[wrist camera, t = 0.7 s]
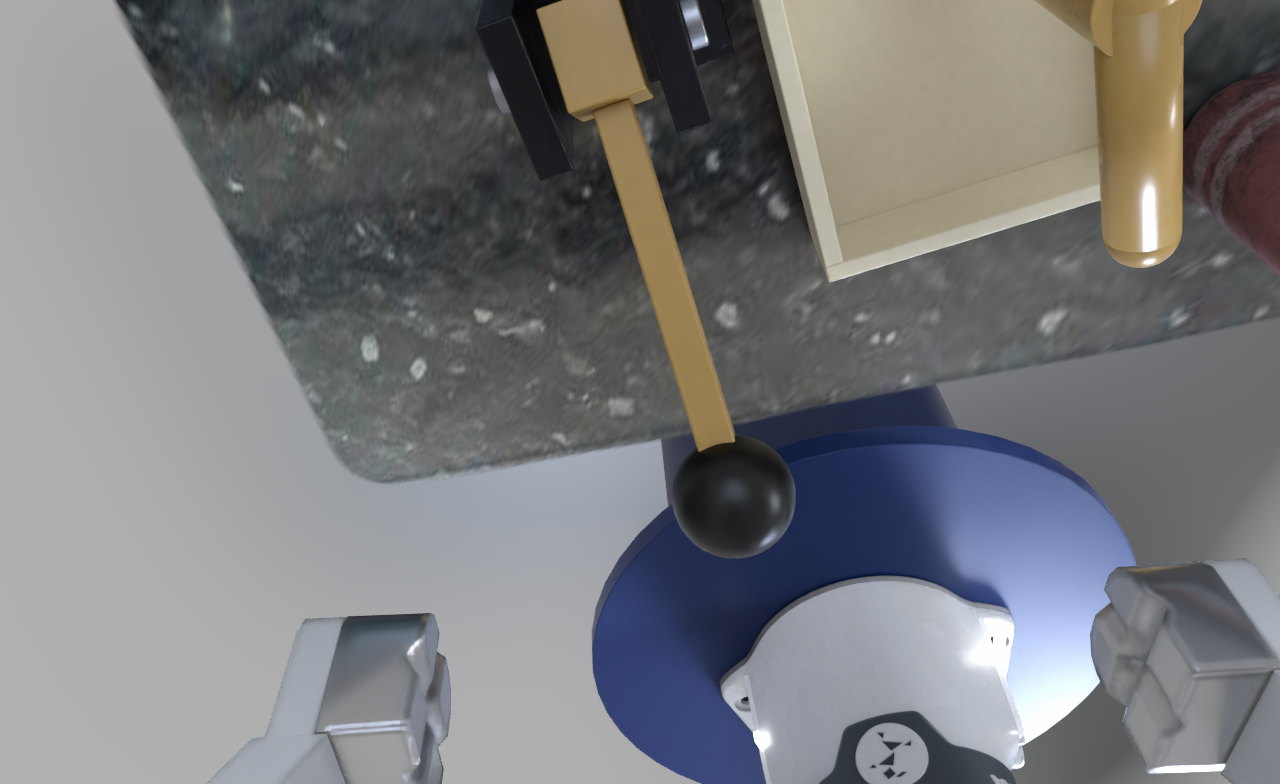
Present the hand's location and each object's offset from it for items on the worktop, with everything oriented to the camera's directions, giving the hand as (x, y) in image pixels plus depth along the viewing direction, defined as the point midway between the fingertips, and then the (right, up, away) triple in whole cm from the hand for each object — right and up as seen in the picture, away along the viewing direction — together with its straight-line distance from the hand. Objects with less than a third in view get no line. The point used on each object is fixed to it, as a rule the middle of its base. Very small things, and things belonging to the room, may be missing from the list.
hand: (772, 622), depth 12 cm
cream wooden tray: (+10, +17, +27) cm, 34 cm away
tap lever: (-1, +6, +18) cm, 19 cm away
